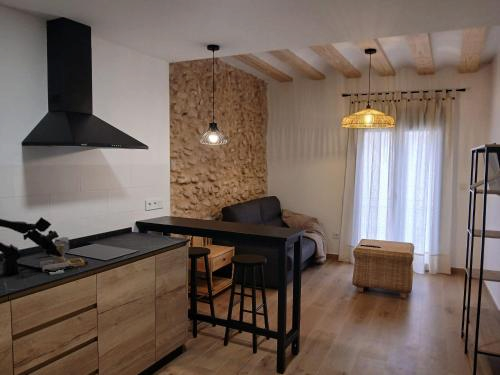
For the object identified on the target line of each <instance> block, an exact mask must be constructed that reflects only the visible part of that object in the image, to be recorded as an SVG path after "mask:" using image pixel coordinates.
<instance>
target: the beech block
mask: <svg viewBox="0 0 500 375" xmlns="http://www.w3.org/2000/svg"><path fill="white" fill-rule="evenodd" d="M55 245H56V246H57V250H58V251H59V252H60V254H61V255H62V257H58V256H54V255H53V256H52V258H53V259H52V260H53V263H54V264H59V263H64V259H65V254H64V245H63V244H55Z"/></svg>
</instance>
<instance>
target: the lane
mask: <svg viewBox="0 0 500 375" xmlns="http://www.w3.org/2000/svg"><path fill="white" fill-rule="evenodd" d="M39 263H40V264H39V265H40V266H39V267H41V266H43V267H42V272H45V271H44V270H45V269H51V268H58V267H65V266H69V262H67V258H65V257H64V263H59V264H54V263H53V259H52V260H45V261H44V260H43V261H40V262H39ZM44 265H45V266H44Z"/></svg>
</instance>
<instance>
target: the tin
mask: <svg viewBox="0 0 500 375" xmlns="http://www.w3.org/2000/svg"><path fill="white" fill-rule="evenodd" d="M53 243H54V244H63V245H64V255H65V254H67V253H68V252H69V251H70V249H71V248H70V247H71V246H70V244H68V243H67V242H65V241H61V242H55V241H54V242H53ZM46 255H47V256H49V257H53V255H48V254H46Z"/></svg>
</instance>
